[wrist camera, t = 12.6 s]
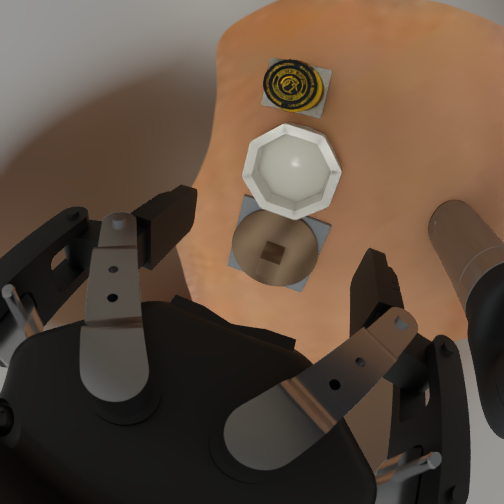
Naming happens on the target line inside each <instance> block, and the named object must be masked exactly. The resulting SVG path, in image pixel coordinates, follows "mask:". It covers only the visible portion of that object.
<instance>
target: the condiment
mask: <svg viewBox="0 0 504 504" xmlns="http://www.w3.org/2000/svg"><path fill="white" fill-rule="evenodd" d="M331 73H332V71H331V70H328V69H324V68H319V67H315V66H311V65H309V64H307V63H305V62H302V61H297V60H291V59H289V60H282V59H276V58H270V61H269V66H268V70H267V72H266V74H265V76H264V81H263V87H264V92H263V97H262V102H261V105H264V106H269V107H273V108H279V109H282V110H285V111H289V112H296V113H300V114H304V115H308V116H312V117H315V118H319V119H321V116H322V112H323V108H324V104H325V99H326V95H327V91H328V86H329V82H330V78H331Z"/></svg>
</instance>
